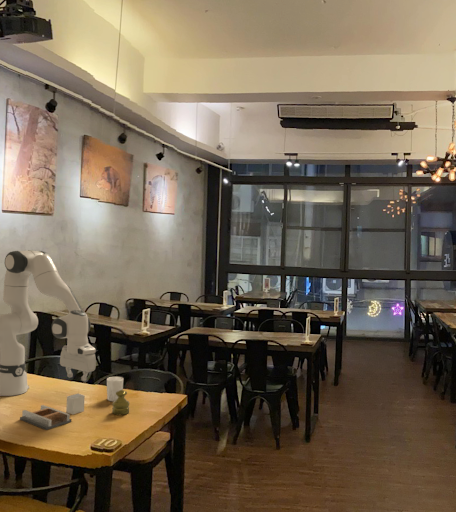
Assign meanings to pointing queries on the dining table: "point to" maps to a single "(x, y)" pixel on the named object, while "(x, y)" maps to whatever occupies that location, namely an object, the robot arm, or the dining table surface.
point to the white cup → (114, 387)
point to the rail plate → (46, 417)
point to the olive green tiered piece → (120, 404)
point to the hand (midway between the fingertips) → (76, 378)
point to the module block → (75, 403)
